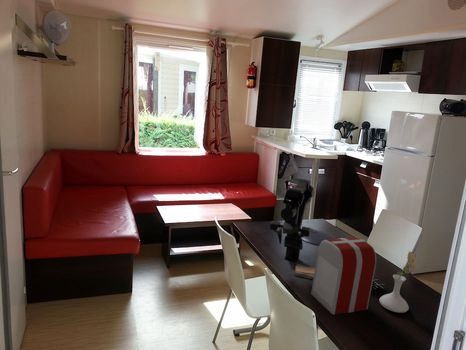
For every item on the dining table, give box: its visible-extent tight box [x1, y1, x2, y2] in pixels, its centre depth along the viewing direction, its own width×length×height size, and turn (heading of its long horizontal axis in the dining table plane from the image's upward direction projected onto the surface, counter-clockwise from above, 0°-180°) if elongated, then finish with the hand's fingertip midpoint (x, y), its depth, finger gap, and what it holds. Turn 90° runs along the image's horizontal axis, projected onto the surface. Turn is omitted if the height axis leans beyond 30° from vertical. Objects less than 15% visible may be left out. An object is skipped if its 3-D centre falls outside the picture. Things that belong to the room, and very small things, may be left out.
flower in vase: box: [379, 250, 419, 314], centre depth 152 cm, size 13×11×25 cm
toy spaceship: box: [301, 226, 337, 247], centre depth 225 cm, size 28×24×3 cm
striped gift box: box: [310, 237, 377, 315], centre depth 153 cm, size 17×18×27 cm
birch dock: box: [293, 263, 315, 280], centre depth 175 cm, size 23×12×5 cm, turn 72°
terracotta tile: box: [294, 264, 315, 276], centre depth 177 cm, size 12×6×2 cm, turn 80°
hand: (287, 245), depth 178 cm, fingers open, 7 cm apart
